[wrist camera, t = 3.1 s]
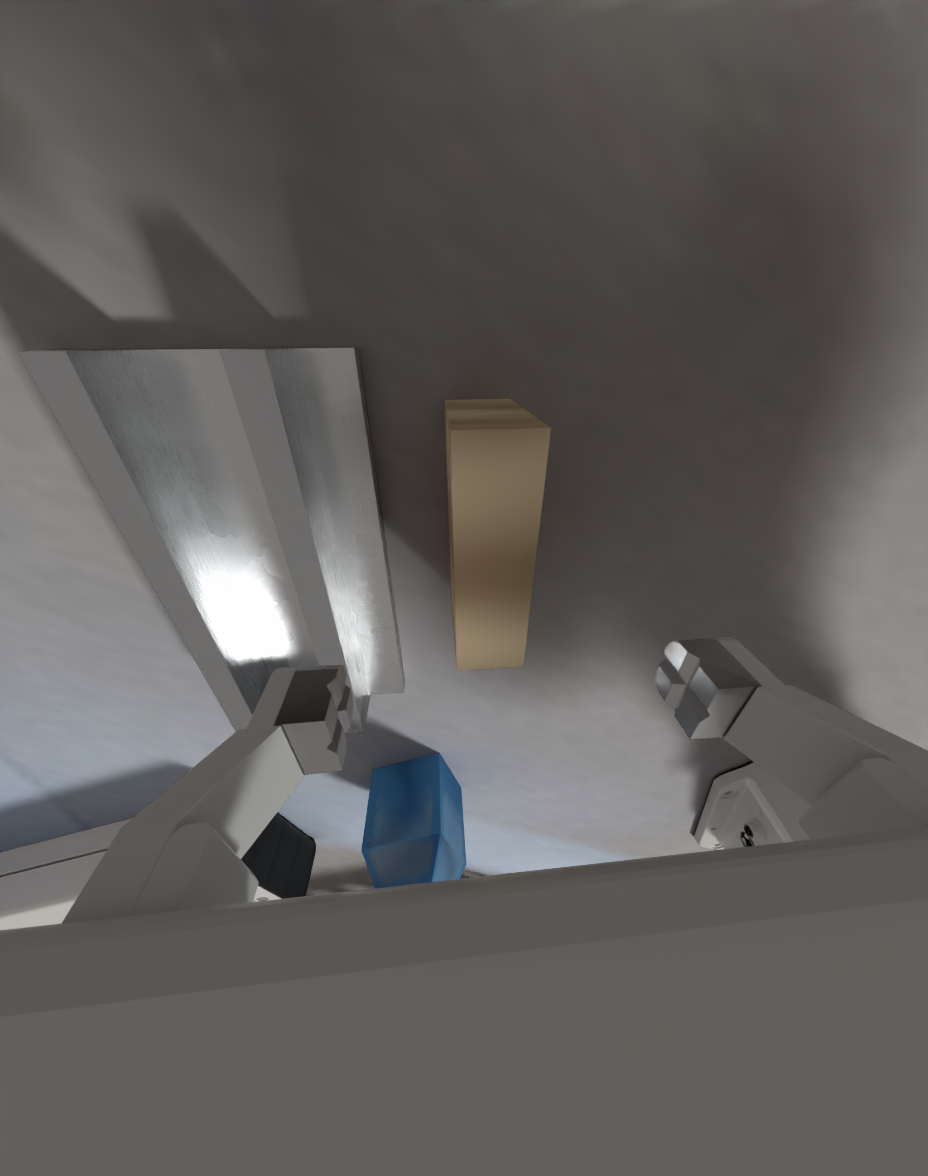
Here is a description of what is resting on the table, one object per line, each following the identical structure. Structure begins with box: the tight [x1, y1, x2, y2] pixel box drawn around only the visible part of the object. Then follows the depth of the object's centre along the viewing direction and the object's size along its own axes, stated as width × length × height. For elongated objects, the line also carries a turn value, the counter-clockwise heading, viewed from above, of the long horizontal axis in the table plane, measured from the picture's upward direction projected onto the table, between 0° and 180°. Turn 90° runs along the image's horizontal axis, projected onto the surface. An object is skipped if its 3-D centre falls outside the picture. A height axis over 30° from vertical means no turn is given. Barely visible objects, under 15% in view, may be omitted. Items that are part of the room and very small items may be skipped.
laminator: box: [0, 813, 316, 930], centre depth 35 cm, size 34×12×6 cm, turn 108°
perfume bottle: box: [362, 753, 466, 888], centre depth 29 cm, size 6×6×12 cm
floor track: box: [18, 348, 405, 734], centre depth 19 cm, size 20×12×4 cm, turn 0°
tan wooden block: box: [445, 399, 551, 671], centre depth 17 cm, size 10×3×7 cm, turn 0°
